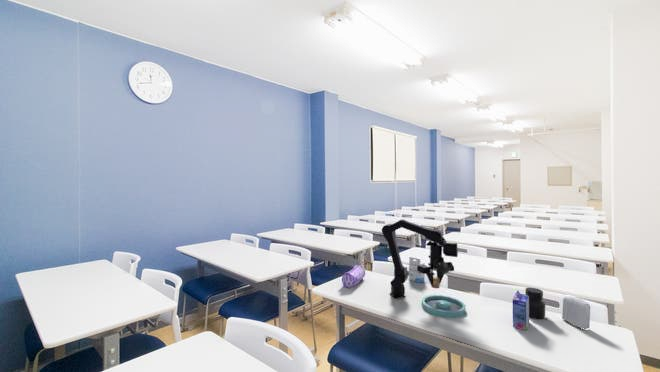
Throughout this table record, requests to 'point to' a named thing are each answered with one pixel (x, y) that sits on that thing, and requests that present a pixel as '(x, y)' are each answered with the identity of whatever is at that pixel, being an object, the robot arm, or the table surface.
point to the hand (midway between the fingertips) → (435, 284)
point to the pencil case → (353, 276)
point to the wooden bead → (436, 282)
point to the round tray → (443, 306)
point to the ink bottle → (536, 303)
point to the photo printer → (576, 311)
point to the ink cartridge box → (520, 311)
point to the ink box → (415, 270)
